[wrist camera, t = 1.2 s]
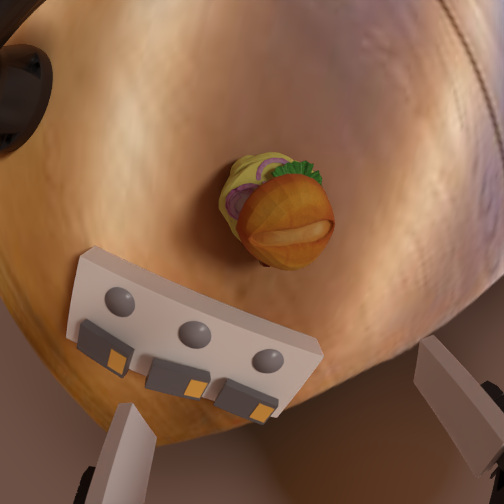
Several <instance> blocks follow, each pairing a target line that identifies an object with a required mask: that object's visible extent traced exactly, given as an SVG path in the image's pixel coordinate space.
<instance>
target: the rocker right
mask: <svg viewBox="0 0 504 504" xmlns="http://www.w3.org/2000/svg"><path fill="white" fill-rule="evenodd" d="M278 403H279V399H277V398H275V397H272V396H269V395H267V394H264V393H262V392H260V391H257V390H255V389H252V388H250V387H248V386H245V385H243V384H241V383H238V382H236V381H234V380H231V379H229V378H228V379H227V380H226V382H225V384H224V385H223V387H222V389H221V390H220V392H219V393H218V395H217V397H216V398H215V402H214V406H216V407H219V408H221V409H223V410H226V411H228V412H230V413H233V414H235V415H238V416H240V417H243V418H245V419H248V420H250V421H253V422H256V423H258V424H261V425H264V423H265V422H266V421H267V420H268V419H269V417H270V416H271V415H272V414H273V412H274V411H275V410H276V409H277V408H278Z"/></svg>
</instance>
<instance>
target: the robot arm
mask: <svg viewBox="0 0 504 504" xmlns="http://www.w3.org/2000/svg"><path fill="white" fill-rule="evenodd" d="M45 1H46V0H0V153H8V152H11V151H13V150H15V149H17V148H19V147H20V146H21V145H23V144H24V143H25V142H26V141H27V140H28V139H29V138H30V136H31V135H32V134H33V132H34V131H35V130H36V128H37V126H38V125H39V123H40V121H41V119H42V117H43V115H44V113H45V110H46V108H47V105H48V102H49V98H50V94H51V89H52V81H53V72H52V65H51V62H50V59H49V57H48V56H47V54H46V53H45V52H44V51H42V50H40V49H38V48H36V47H34V46H32V45H27V44H19V45H9V46H3V45H4V44H5V43H6V42H7V41H8V39H9V38H10V37H11V36H12V35H13V34H14V32H15V31H16V30H17V29H18V28H19V27H20V26H21V25H22V23H23V22H24V21H25V20H26V19H27V18H28V17H29V16H30V15H31V14H32V13H33V12H34V11H35V10H36V9H37V8H38V7H39V6H40V5H41V4H43V3H44V2H45ZM414 384H415V385H416V386H417V388H418V389H419V391H420V392H421V394H422V395H423V396H424V398H425V399H426V401H427V402H428V404H429V405H430V407H431V408H432V410H433V411H434V413H435V414H436V416H437V417H438V419H439V420H440V422H441V423H442V425H443V426H444V428H445V429H446V431H447V432H448V434H449V436H450V437H451V438H452V440H453V442H454V443H455V445H456V446H457V448H458V450H459V451H460V453H461V454H462V456H463V457H464V459H465V461H466V462H467V464H468V466H469V468H470V469H471V471H472V473H473V474H474V476H475V478H476V479H477V478H478V477H480V476H481V475H483V474H484V473H486V472H487V471H489V470H490V469H491V468H492V467H493V465H494V464H495V463H497V464H498V467H497V468H496V469H495V471H494V472H493V473H492V474H491V477H490V478H491V479H492V478H493V477H494V476H495V474H496V477H495V481H494V486H493V490H492V495H491V498H490V503H489V504H504V393H503V392H502V391H501V390H500V388H499V387H498V386H497V385H495V384H493V383H491V382H489V381H486V382H484V383H483V384H481V385H479V384H478V383H477V381H476V380H475V379H474V378H473V377H472V376H471V375H470V374H469V373H468V371H467V370H466V369H465V368H464V367H463V366H462V365H461V364H460V363H459V362H458V361H457V359H456V358H455V357H454V356H453V355H452V354H451V353H450V352H449V351H448V350H447V349H446V348H445V347H444V346H443V344H442V343H441V342H439V340H438V339H437V338H436V337H435V336H434V335H432V336H430V337H427V338H424V339H422V340H420V345H419V352H418V359H417V365H416V371H415V377H414ZM156 439H157V437H156V436H155V434H154V433H153V432H152V430H151V429H150V427H149V426H148V425H147V423H146V422H145V420H144V419H143V418H142V416H141V415H140V413H139V412H138V410H137V409H136V407H135V406H134V404H133V403H119V404H118V407H117V410H116V412H115V415H114V418H113V420H112V423H111V426H110V428H109V431H108V434H107V437H106V439H105V442H104V445H103V448H102V451H101V454H100V457H99V460H98V463H97V466H96V467H91V466H89V467H88V469H87V470H86V471H85V472H84V473H83V476H82V478H81V481H80V486H79V487H78V490H77V492H78V493H76V496H75V500H74V502H73V504H144V500H145V495H146V489H147V484H148V479H149V473H150V469H151V463H152V458H153V454H154V449H155V444H156Z"/></svg>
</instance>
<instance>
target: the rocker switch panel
mask: <svg viewBox="0 0 504 504" xmlns="http://www.w3.org/2000/svg"><path fill="white" fill-rule="evenodd" d="M86 319H88V320H90V321H91V322H93V323H94V324H96V325H97V326H99V327H100V328H102V329H103V330H105V331H106V332H108V333H109V334H111V335H113V336H114V337H116V338H117V339H119V340H121V341H122V342H124V343H126V344H127V345H129V346H131V347H132V348H134V349H135V350H134V353H133V356H132V360H131V363H130V366H129V369H130V370H133V371H135V372H137V373H140V374H142V375H144V376H147V374H148V371H149V368H150V366H151V363H152V360H153V358H154V357H155V358H158V359H162V360H165V361H169V362H173V363H176V364H180V365H184V366H188V367H192V368H196V369H200V370H204V371H209V372H210V376H211V381H210V383H209V385H208V386H207V388H206V390H205V392H204V393H203V395H202V397H203V398H206V399H209V400H213V401H215V398H216V397H217V395H218V393H219V392H220V390H221V389H222V387H223V385H224V384H225V382H226V380H227V379H228V378H229V379H231V380H234V381H236V382H238V383H241V384H243V385H245V386H248V387H250V388H252V389H255V390H257V391H260V392H262V393H264V394H267V395H269V396H272V397H275V398H277V399H279V403H278V408H277V409H276V410H275V411H274V412H273V414H272V415H271V417H278V416H279V414H280V413H281V412H282V411H283V410H284V408H285V407H286V406H287V405H288V403H289V402H290V401H291V400H292V398H293V397H294V396H295V395H296V393H297V392H298V391H299V390H300V388H301V387H302V386H303V384H304V383H305V382H306V380H307V379H308V378H309V376H310V375H311V374H312V372H313V371H314V370H315V368H316V367H317V366H318V364H319V363H320V362H321V360H322V359H323V357H324V355H323V352H322V350H321V348H320V345H319V343H318V341H317V338H314V337H311V336H308V335H305V334H303V333H300V332H297V331H294V330H292V329H289V328H286V327H283V326H281V325H278V324H275V323H273V322H270V321H268V320H265V319H262V318H260V317H257V316H254V315H252V314H249V313H247V312H244V311H242V310H239V309H237V308H234V307H232V306H229V305H227V304H224V303H222V302H219V301H217V300H215V299H212V298H210V297H207V296H205V295H202V294H200V293H198V292H195V291H193V290H191V289H188V288H186V287H184V286H181V285H179V284H177V283H175V282H172V281H170V280H168V279H165V278H163V277H161V276H159V275H157V274H154V273H152V272H150V271H148V270H145V269H143V268H141V267H139V266H137V265H135V264H133V263H130V262H128V261H126V260H124V259H122V258H120V257H118V256H116V255H113V254H111V253H109V252H107V251H105V250H103V249H101V248H99V247H97V246H94V247H92V248H91V249H89V250H88V251H86V252H85V253H84V254H82V255H81V256H80V258H79V262H78V267H77V272H76V276H75V281H74V287H73V292H72V298H71V304H70V310H69V317H68V324H67V332H66V338H68V339H70V340H72V341H73V342H75V343H77V341H78V335H79V328H80V323H82V322H83V321H84V320H86Z"/></svg>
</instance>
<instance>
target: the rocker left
mask: <svg viewBox="0 0 504 504" xmlns="http://www.w3.org/2000/svg"><path fill="white" fill-rule="evenodd" d="M77 349H78V350H80V351H81V352H83V353H84V354H86V355H87V356H89V357H90V358H91V359H93V360H94V361H96V362H97V363H99V364H100V365H102V366H104V367H105V368H107V369H108V370H110V371H111V372H113V373H115V374H116V375H118V376H120V377H121V378H123V377H124V376H125V375H126V374H127V372H128V369H129V366H130V363H131V360H132V356H133V353H134V350H135V349H134V348H132V347H131V346H129V345H127V344H126V343H124V342H122V341H121V340H119V339H117V338H116V337H114V336H113V335H111V334H109V333H108V332H106V331H105V330H103V329H102V328H100V327H99V326H97V325H96V324H94V323H93V322H91V321H90V320H88V319H86V320H84V321H83V322H82V323H80V328H79V335H78V341H77Z"/></svg>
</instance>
